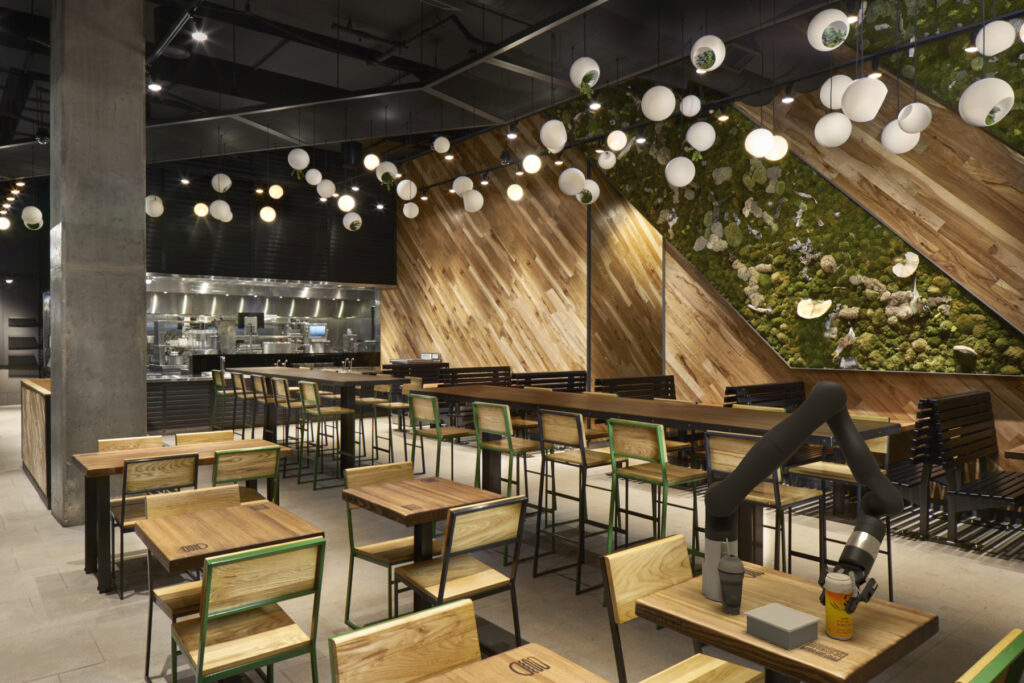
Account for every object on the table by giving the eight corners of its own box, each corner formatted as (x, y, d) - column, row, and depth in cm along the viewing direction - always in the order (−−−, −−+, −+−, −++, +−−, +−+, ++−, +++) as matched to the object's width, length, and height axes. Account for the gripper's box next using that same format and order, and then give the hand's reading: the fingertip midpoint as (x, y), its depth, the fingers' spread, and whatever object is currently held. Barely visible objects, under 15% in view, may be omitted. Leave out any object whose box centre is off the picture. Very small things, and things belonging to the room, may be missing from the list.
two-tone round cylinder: (840, 642, 162) (840, 581, 162) (820, 633, 168) (819, 574, 168) (858, 638, 164) (857, 578, 165) (837, 629, 170) (836, 570, 170)
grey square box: (743, 632, 168) (743, 612, 168) (774, 621, 175) (774, 602, 175) (789, 651, 157) (789, 630, 157) (820, 638, 164) (820, 618, 164)
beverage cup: (738, 619, 176) (738, 544, 177) (712, 612, 181) (712, 539, 182) (749, 611, 182) (749, 539, 182) (724, 604, 186) (724, 534, 187)
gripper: (827, 538, 177) (802, 591, 170) (882, 551, 165) (857, 609, 158) (839, 554, 179) (814, 607, 173) (893, 569, 167) (869, 626, 161)
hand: (835, 608), depth 165 cm, fingers closed on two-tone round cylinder, 6 cm apart
